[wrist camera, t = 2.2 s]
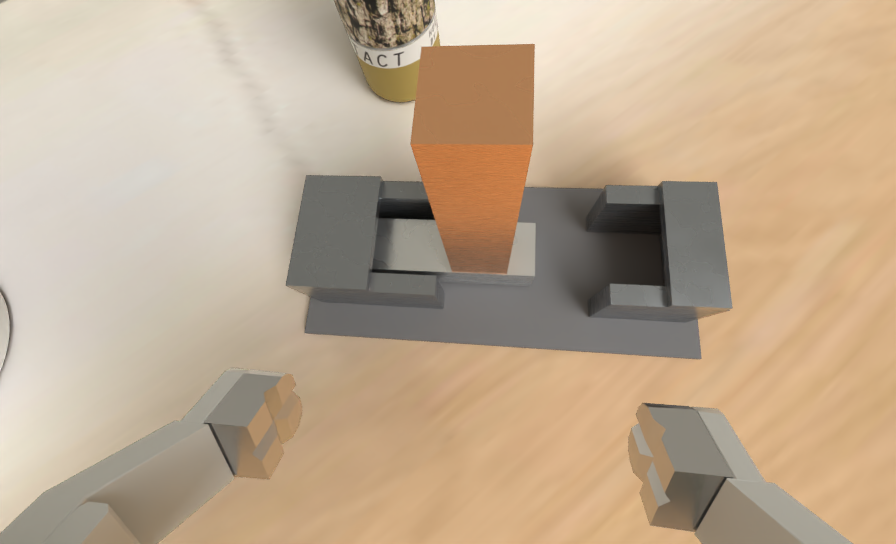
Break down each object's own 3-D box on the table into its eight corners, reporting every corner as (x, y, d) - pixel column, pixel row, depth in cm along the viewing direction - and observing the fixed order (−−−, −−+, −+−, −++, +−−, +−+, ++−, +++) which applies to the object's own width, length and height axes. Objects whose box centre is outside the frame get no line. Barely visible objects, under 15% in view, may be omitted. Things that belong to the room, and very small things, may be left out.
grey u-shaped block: (322, 302, 28) (285, 285, 23) (337, 210, 30) (306, 175, 25) (443, 309, 27) (433, 293, 22) (450, 213, 29) (443, 177, 24)
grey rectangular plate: (307, 333, 28) (304, 332, 28) (331, 185, 31) (329, 183, 31) (698, 359, 25) (701, 358, 25) (682, 193, 28) (684, 190, 28)
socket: (588, 317, 26) (614, 302, 21) (586, 216, 28) (609, 180, 23) (685, 322, 25) (736, 308, 20) (675, 219, 27) (720, 182, 22)
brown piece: (325, 276, 28) (111, 143, 12) (332, 231, 29) (142, 51, 13) (530, 286, 27) (597, 146, 10) (530, 237, 28) (594, 41, 11)
